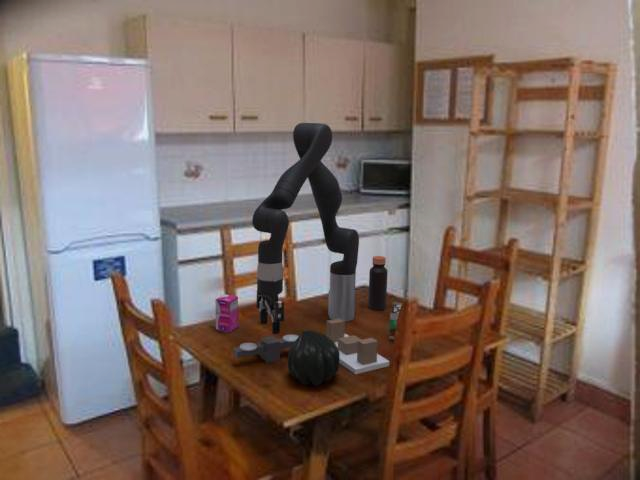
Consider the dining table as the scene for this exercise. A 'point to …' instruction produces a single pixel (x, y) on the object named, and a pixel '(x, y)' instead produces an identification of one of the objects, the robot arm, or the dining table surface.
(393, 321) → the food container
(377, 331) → the dining table surface
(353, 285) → the robot arm
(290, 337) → the grey white knobbed bar
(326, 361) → the squash
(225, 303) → the supplement box
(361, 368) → the display stand
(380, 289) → the bottle
